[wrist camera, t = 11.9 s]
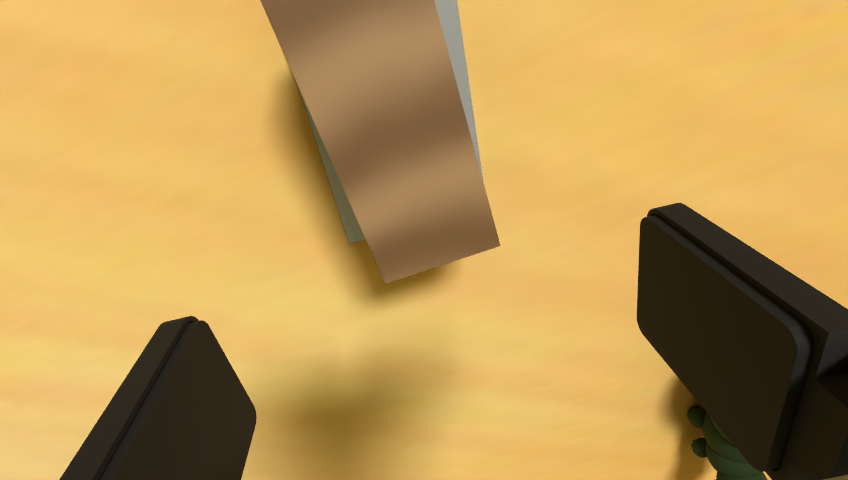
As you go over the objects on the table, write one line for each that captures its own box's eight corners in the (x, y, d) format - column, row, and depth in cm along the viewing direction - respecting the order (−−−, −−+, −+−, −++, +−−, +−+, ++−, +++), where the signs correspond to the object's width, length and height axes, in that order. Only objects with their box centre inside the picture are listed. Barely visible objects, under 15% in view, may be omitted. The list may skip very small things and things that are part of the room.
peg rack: (349, 237, 36) (346, 278, 30) (254, -58, 26) (225, -74, 21) (484, 206, 36) (504, 242, 30) (439, -101, 26) (457, -127, 21)
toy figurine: (729, 430, 56) (799, 273, 42) (876, 621, 40) (1066, 472, 26) (656, 444, 55) (701, 291, 41) (774, 642, 40) (911, 502, 26)
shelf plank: (270, -16, 22) (251, -20, 18) (405, -66, 22) (412, -80, 18) (383, 250, 30) (385, 283, 26) (484, 216, 29) (500, 245, 26)
